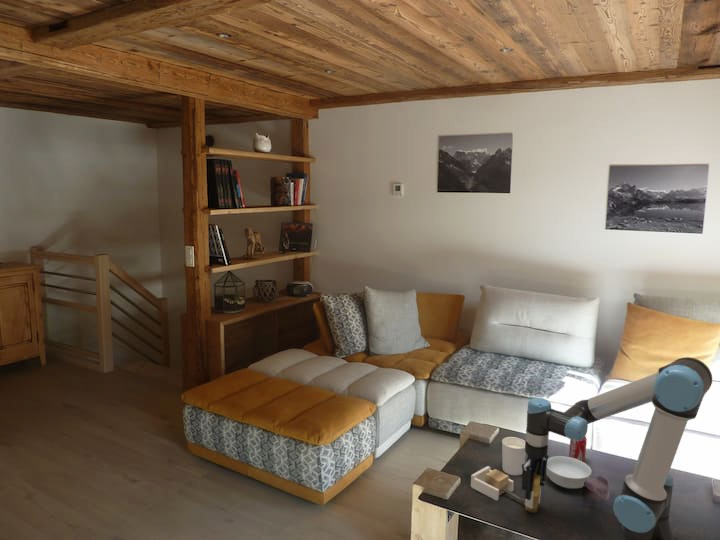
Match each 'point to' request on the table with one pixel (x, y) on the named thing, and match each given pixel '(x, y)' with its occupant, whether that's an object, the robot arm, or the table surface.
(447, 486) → the table surface
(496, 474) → the tethered block
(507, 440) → the candle holder
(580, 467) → the cereal bowl
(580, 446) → the beverage can
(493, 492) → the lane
